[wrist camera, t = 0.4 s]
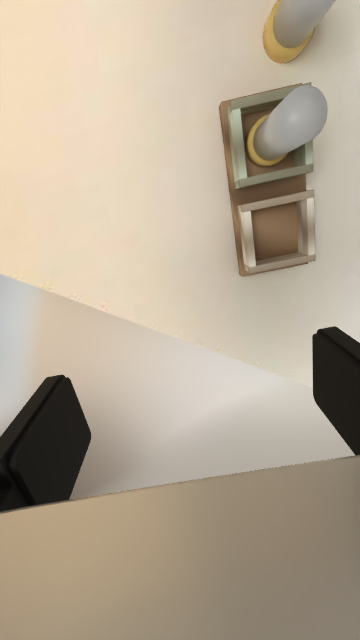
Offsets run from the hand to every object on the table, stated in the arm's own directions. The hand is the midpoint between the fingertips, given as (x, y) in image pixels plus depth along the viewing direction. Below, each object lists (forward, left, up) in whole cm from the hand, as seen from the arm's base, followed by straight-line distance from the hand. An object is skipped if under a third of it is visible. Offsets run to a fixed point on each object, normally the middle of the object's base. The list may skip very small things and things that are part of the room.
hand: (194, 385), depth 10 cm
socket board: (-6, +13, -30) cm, 33 cm away
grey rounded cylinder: (-21, +16, -30) cm, 40 cm away
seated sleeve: (-11, +13, -28) cm, 33 cm away
